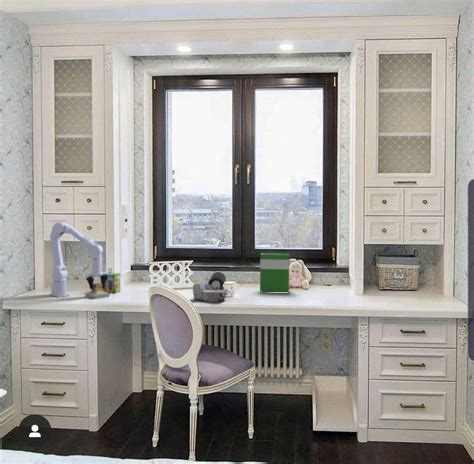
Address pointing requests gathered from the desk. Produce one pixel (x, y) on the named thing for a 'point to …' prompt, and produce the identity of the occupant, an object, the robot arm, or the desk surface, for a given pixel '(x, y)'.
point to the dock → (96, 295)
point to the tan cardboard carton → (97, 289)
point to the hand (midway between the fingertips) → (97, 288)
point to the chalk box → (112, 282)
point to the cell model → (208, 292)
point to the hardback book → (274, 272)
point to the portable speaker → (217, 280)
